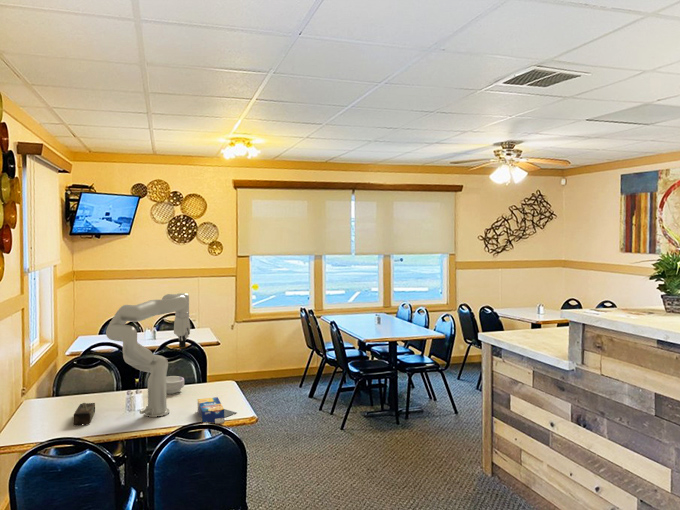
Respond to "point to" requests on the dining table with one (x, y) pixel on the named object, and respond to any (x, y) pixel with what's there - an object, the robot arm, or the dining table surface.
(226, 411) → the rubber mat
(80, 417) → the dark grey rectangular block
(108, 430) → the dining table surface
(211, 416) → the blue rectangular box
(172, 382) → the paper bowls
